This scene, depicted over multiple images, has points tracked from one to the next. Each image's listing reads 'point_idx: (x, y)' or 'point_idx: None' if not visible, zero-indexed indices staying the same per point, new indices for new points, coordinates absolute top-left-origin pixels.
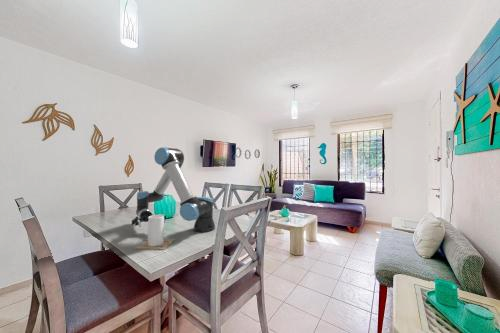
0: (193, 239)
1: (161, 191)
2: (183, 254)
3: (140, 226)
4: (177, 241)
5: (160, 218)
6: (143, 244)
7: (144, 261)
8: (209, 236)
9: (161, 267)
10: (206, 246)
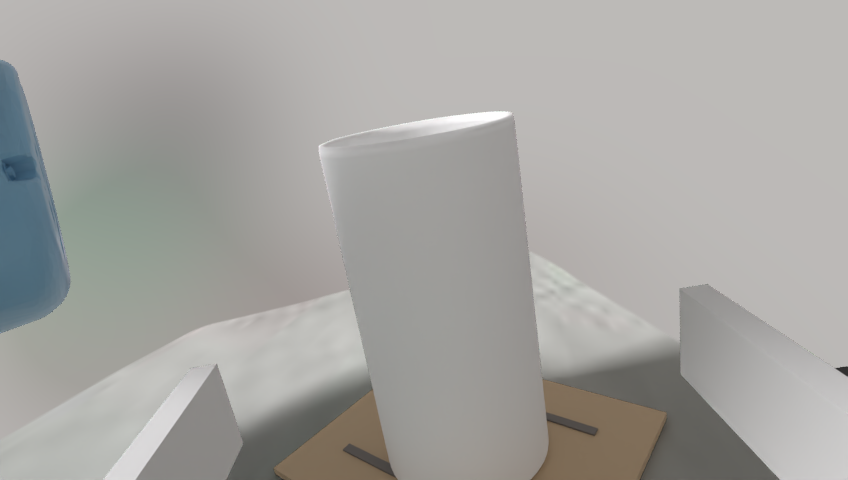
0: None
1: None
2: None
3: (689, 364)
4: (271, 439)
5: (389, 139)
6: (605, 465)
7: (552, 285)
8: (10, 441)
9: None
10: (207, 330)
